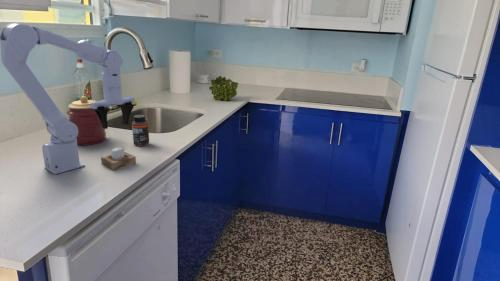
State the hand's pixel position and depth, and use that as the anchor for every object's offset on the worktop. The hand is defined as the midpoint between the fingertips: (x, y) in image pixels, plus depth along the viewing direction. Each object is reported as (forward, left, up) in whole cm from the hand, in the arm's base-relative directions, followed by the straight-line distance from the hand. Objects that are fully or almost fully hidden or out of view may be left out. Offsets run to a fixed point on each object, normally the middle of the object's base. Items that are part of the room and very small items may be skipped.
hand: (115, 126), depth 118 cm
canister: (0, +22, -11) cm, 24 cm away
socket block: (-5, -8, -10) cm, 14 cm away
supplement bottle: (+12, +4, -11) cm, 17 cm away
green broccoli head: (+96, +43, -11) cm, 106 cm away
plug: (-5, -8, -10) cm, 14 cm away
